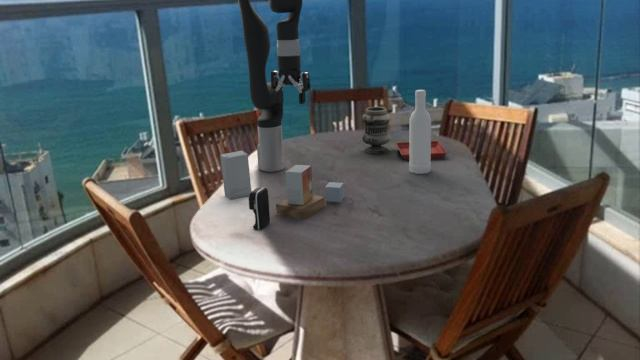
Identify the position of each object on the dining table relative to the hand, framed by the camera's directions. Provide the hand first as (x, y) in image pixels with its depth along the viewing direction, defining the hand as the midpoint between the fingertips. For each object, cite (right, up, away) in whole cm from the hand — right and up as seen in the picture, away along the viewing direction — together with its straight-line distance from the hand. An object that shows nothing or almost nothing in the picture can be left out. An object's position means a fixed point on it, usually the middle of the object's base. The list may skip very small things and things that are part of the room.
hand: (291, 103), depth 203 cm
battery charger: (-8, -39, -23) cm, 47 cm away
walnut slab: (+4, -36, -12) cm, 38 cm away
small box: (+3, -32, -14) cm, 35 cm away
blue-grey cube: (+15, -32, -3) cm, 35 cm away
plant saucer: (+51, -16, +45) cm, 69 cm away
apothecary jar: (+33, -14, +53) cm, 64 cm away
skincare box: (-18, -31, +4) cm, 37 cm away
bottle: (+47, -23, +22) cm, 56 cm away
